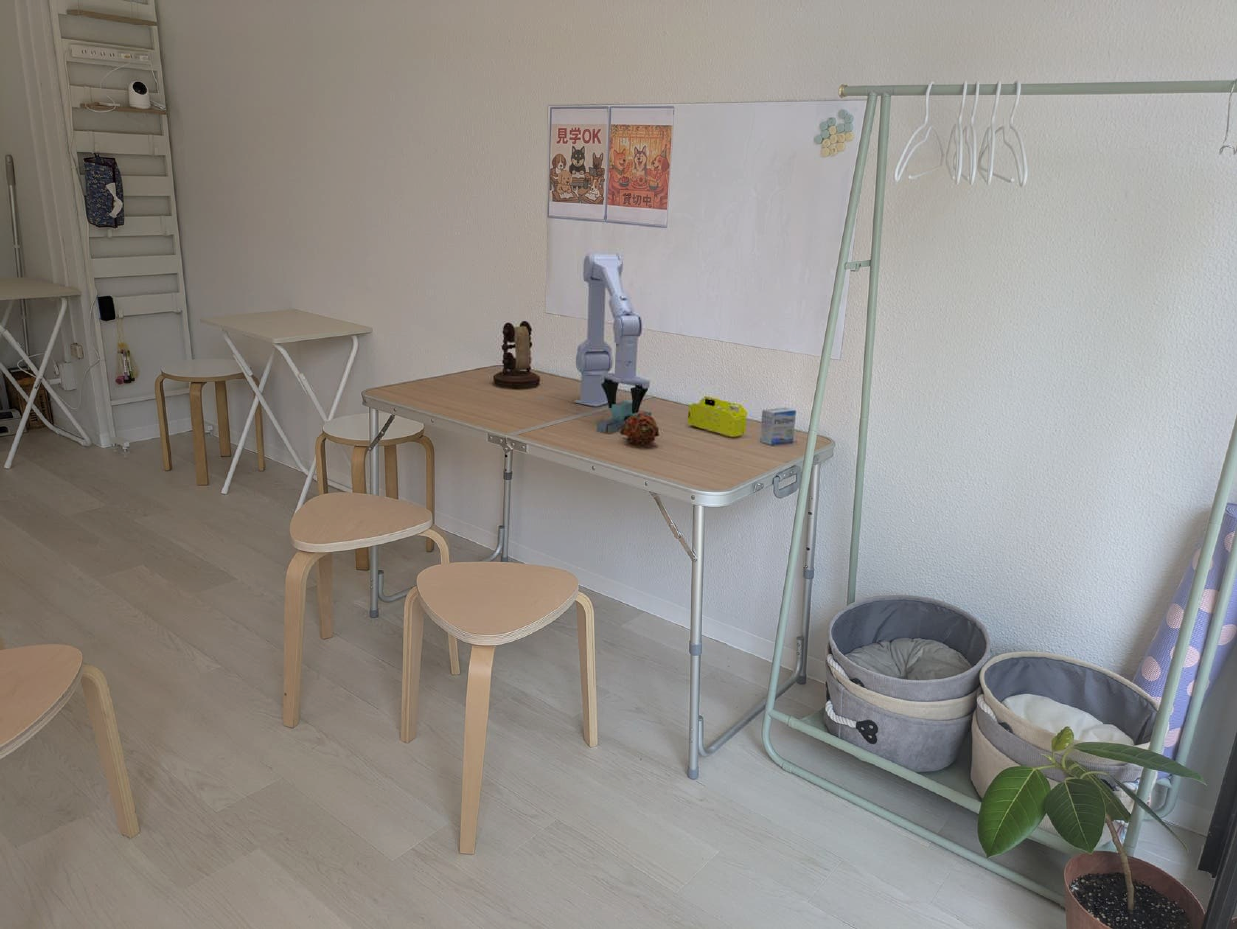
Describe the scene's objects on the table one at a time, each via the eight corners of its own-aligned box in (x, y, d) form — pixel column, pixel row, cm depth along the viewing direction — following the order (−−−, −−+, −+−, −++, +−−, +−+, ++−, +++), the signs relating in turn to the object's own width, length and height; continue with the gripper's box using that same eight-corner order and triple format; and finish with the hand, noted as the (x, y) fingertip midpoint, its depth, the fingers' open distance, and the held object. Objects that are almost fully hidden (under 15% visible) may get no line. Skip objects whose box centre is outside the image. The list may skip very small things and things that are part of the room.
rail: (638, 417, 258) (638, 409, 257) (650, 420, 256) (651, 412, 255) (596, 431, 242) (597, 422, 241) (609, 433, 240) (610, 425, 239)
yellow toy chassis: (745, 436, 244) (748, 406, 241) (732, 440, 240) (734, 408, 238) (699, 424, 255) (702, 394, 252) (686, 427, 251) (688, 397, 248)
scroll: (513, 391, 282) (514, 326, 276) (483, 383, 291) (483, 320, 285) (549, 385, 292) (551, 323, 286) (519, 377, 302) (520, 316, 296)
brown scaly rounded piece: (651, 456, 227) (625, 450, 238) (673, 433, 230) (647, 429, 240) (633, 431, 224) (607, 426, 234) (656, 408, 226) (630, 404, 236)
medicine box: (770, 445, 236) (773, 413, 233) (759, 441, 240) (762, 409, 237) (793, 442, 240) (796, 410, 237) (781, 438, 244) (785, 406, 241)
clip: (625, 421, 253) (626, 400, 251) (634, 423, 251) (635, 402, 249) (610, 426, 247) (611, 404, 245) (620, 428, 246) (621, 406, 244)
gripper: (594, 358, 245) (593, 408, 249) (640, 366, 237) (637, 417, 241) (610, 355, 250) (608, 403, 254) (655, 362, 243) (652, 412, 247)
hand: (623, 410), depth 248 cm, fingers open, 7 cm apart
